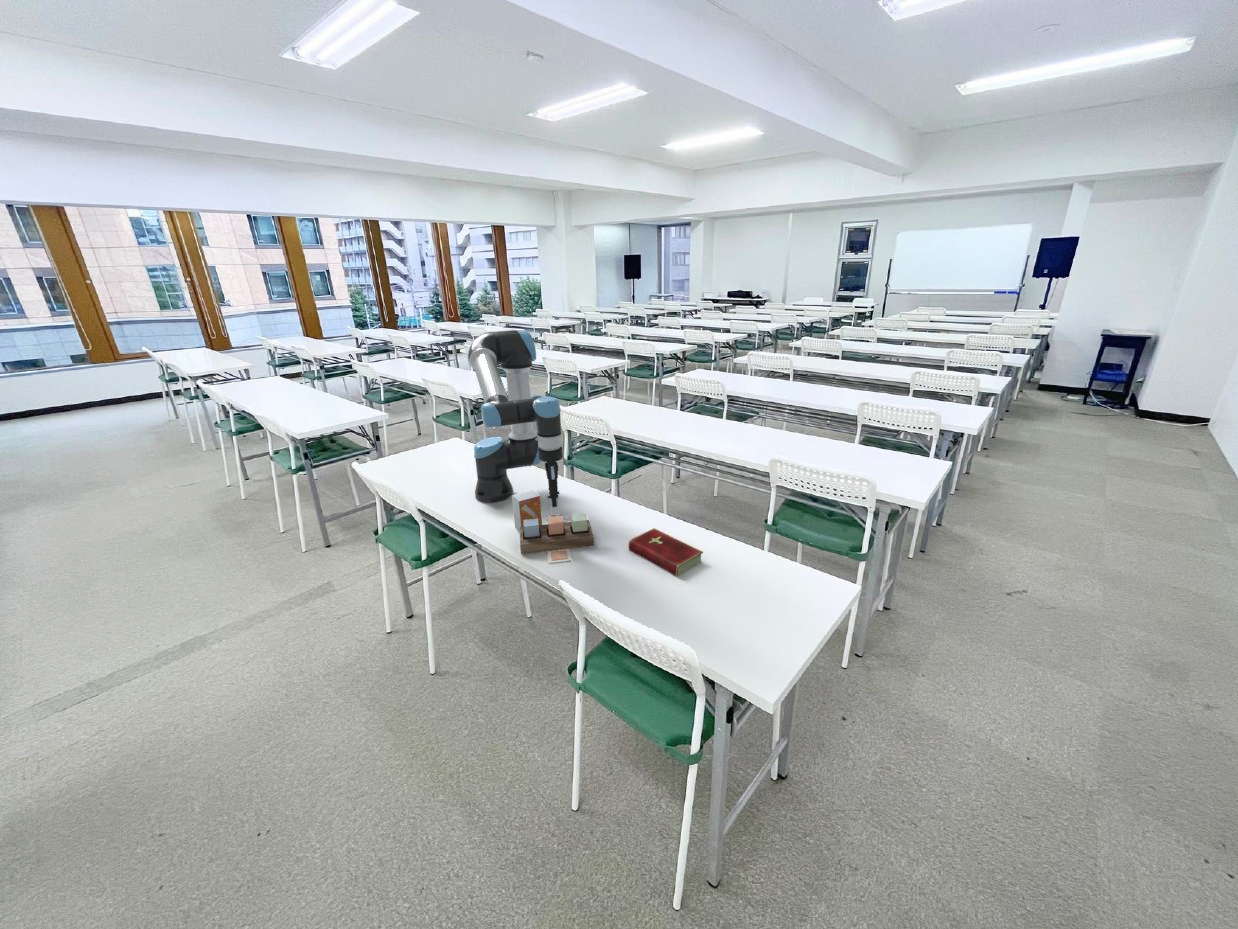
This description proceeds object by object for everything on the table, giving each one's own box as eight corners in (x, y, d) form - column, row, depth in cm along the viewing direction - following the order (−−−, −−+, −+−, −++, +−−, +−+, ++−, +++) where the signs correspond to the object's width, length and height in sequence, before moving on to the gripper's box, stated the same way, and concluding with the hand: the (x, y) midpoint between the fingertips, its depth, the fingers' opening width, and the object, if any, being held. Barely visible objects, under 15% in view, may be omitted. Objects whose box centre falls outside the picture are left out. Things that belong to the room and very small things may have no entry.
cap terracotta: (548, 530, 169) (547, 517, 167) (562, 528, 169) (561, 515, 168) (549, 537, 164) (548, 524, 162) (563, 535, 165) (563, 522, 163)
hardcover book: (677, 578, 148) (677, 566, 146) (628, 551, 162) (628, 539, 161) (702, 562, 155) (703, 551, 154) (654, 538, 170) (654, 527, 168)
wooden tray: (520, 536, 171) (519, 527, 170) (589, 528, 176) (588, 519, 174) (521, 554, 160) (520, 544, 159) (594, 545, 165) (593, 536, 163)
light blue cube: (524, 532, 167) (523, 519, 165) (538, 531, 168) (537, 518, 166) (524, 539, 163) (523, 526, 161) (539, 538, 164) (538, 525, 162)
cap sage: (571, 527, 170) (571, 514, 168) (585, 526, 171) (585, 513, 169) (573, 534, 166) (572, 521, 164) (587, 532, 166) (587, 519, 165)
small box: (521, 535, 172) (518, 501, 167) (514, 527, 177) (511, 494, 172) (543, 528, 176) (540, 495, 171) (535, 521, 181) (532, 489, 176)
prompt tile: (547, 552, 161) (547, 550, 161) (568, 549, 163) (568, 548, 162) (548, 563, 155) (548, 562, 155) (571, 561, 156) (571, 559, 156)
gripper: (537, 441, 161) (542, 506, 169) (539, 454, 149) (544, 524, 158) (560, 439, 162) (564, 504, 171) (564, 452, 150) (568, 521, 159)
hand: (554, 513), depth 164 cm, fingers closed
